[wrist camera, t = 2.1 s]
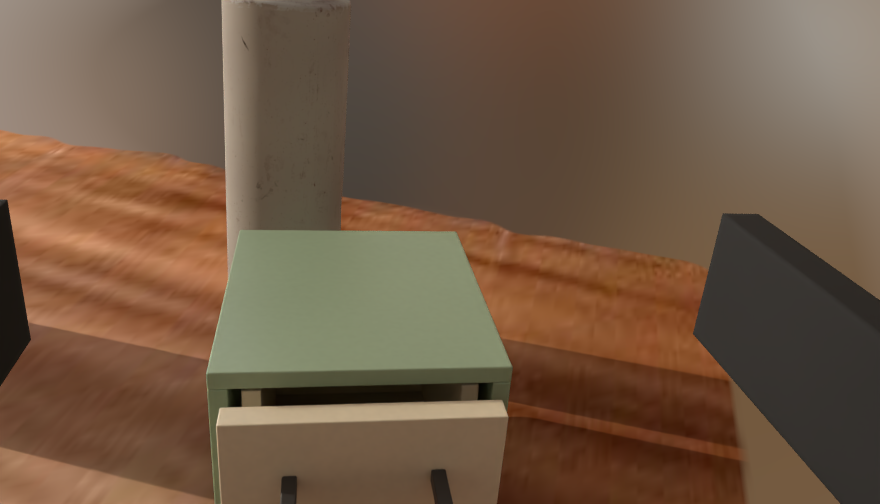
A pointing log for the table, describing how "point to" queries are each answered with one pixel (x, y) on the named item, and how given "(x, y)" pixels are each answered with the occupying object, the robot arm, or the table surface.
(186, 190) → the table surface
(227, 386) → the cabinet
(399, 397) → the drawer
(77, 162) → the table surface
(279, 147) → the thermos bottle
